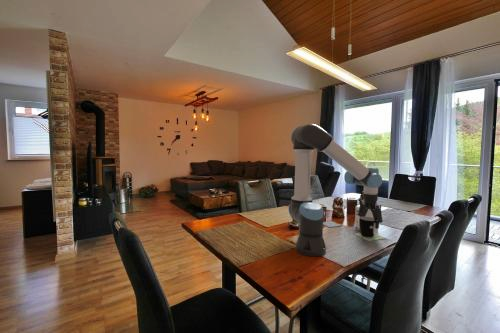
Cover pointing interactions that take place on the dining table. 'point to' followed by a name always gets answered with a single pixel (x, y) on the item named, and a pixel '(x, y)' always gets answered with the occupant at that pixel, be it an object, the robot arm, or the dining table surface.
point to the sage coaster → (375, 237)
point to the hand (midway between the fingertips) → (369, 230)
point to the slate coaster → (331, 224)
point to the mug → (366, 226)
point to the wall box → (368, 214)
